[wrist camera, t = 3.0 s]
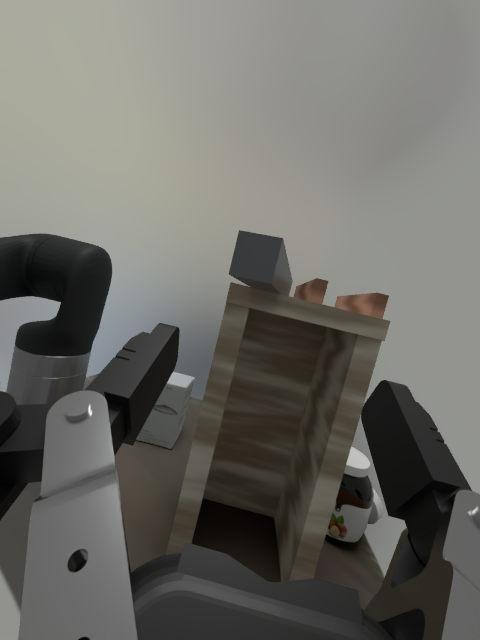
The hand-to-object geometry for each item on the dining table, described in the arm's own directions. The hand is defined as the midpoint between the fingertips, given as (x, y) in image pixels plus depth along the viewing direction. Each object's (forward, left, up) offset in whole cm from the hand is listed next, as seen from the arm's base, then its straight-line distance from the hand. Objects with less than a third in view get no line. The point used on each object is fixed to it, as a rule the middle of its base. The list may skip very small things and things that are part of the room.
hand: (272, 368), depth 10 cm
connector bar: (+4, +17, +4) cm, 18 cm away
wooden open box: (+9, +20, -28) cm, 36 cm away
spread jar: (+27, +24, -28) cm, 46 cm away
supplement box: (-3, +42, -28) cm, 50 cm away
